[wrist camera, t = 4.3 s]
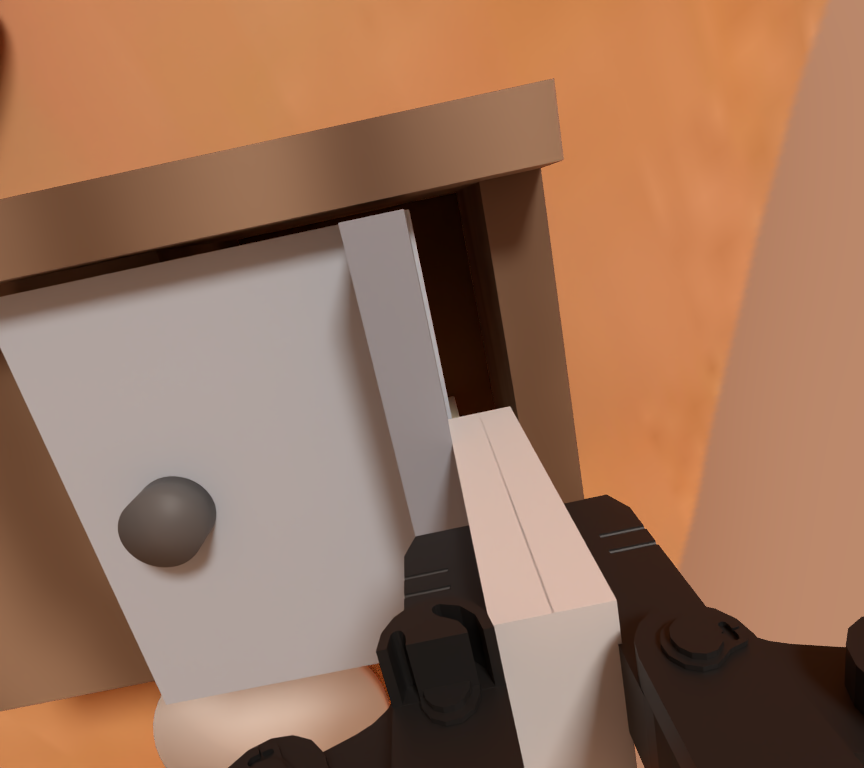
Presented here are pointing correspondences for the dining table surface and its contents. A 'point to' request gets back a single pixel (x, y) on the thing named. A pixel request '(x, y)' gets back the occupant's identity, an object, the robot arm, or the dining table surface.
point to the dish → (267, 717)
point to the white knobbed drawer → (248, 445)
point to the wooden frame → (221, 228)
